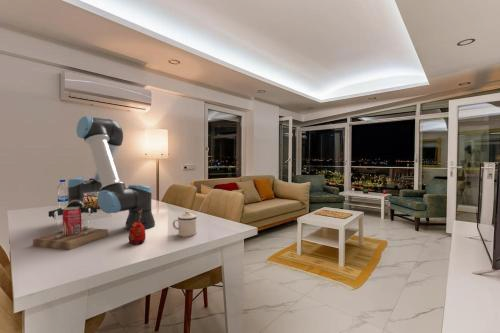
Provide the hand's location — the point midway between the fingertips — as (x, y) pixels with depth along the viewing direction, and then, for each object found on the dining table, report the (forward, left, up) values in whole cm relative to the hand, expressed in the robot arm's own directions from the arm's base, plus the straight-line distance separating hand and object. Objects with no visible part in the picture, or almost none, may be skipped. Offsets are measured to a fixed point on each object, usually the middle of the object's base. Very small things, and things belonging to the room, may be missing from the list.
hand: (72, 214), depth 123 cm
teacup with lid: (-52, -12, -11) cm, 54 cm away
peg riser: (-5, +5, -11) cm, 13 cm away
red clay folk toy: (-36, +3, -11) cm, 37 cm away
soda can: (-4, +5, -8) cm, 10 cm away
